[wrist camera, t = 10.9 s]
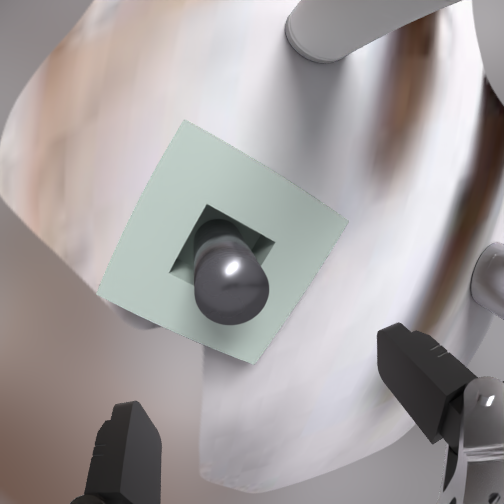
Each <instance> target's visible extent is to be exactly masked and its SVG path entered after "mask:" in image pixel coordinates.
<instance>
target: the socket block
mask: <svg viewBox="0 0 504 504" xmlns="http://www.w3.org/2000/svg"><path fill="white" fill-rule="evenodd" d="M212 219H224V220H227V221H229V222H231V223H233V224H234V225H235V226H236V227H237V228H238V230H239V232H240V233H241V235H242V236H243V238H244V240H245V241H246V243H247V245H248V246H249V248H250V249H251V251H252V253H253V254H254V256H255V258H256V259H257V261H258V263H259V264H260V266H261V267H262V269H263V271H264V272H265V274H266V276H267V279H268V282H269V296H268V300H267V302H266V304H265V306H264V308H263V309H262V311H261V312H260V313H259V314H258V315H257V316H255V317H254V318H253V319H251V320H249V321H247V322H245V323H242V324H238V325H222V324H218V323H215V322H213V321H211V320H210V319H208V318H207V317H206V316H204V315H203V314H202V312H201V311H200V310H199V308H198V306H197V304H196V301H195V295H194V250H193V242H194V236H195V233H196V231H197V230H198V228H199V227H200V226H201V225H202V224H204V223H205V222H207V221H209V220H212ZM348 223H349V221H348V220H347V219H345V218H344V217H342V216H341V215H340V214H338V213H337V212H335V211H334V210H332V209H331V208H329V207H328V206H326V205H325V204H323V203H322V202H321V201H319V200H318V199H316V198H315V197H313V196H312V195H310V194H308V193H307V192H305V191H304V190H302V189H301V188H299V187H298V186H296V185H295V184H293V183H292V182H290V181H288V180H287V179H285V178H284V177H282V176H281V175H279V174H277V173H276V172H274V171H273V170H271V169H269V168H268V167H266V166H265V165H263V164H261V163H260V162H258V161H256V160H255V159H253V158H251V157H250V156H248V155H246V154H245V153H243V152H241V151H240V150H238V149H236V148H235V147H233V146H231V145H230V144H228V143H226V142H224V141H223V140H221V139H219V138H217V137H216V136H214V135H212V134H210V133H209V132H207V131H205V130H203V129H202V128H200V127H198V126H196V125H194V124H193V123H191V122H189V121H187V120H185V119H184V121H183V122H182V124H181V126H180V127H179V129H178V131H177V132H176V134H175V136H174V137H173V139H172V141H171V142H170V144H169V146H168V147H167V149H166V151H165V153H164V154H163V156H162V158H161V160H160V162H159V163H158V165H157V167H156V169H155V171H154V172H153V174H152V176H151V178H150V180H149V182H148V183H147V185H146V187H145V189H144V191H143V193H142V195H141V197H140V199H139V201H138V203H137V205H136V207H135V209H134V211H133V213H132V215H131V217H130V219H129V221H128V223H127V225H126V227H125V229H124V231H123V233H122V236H121V238H120V240H119V242H118V244H117V246H116V249H115V251H114V253H113V255H112V258H111V260H110V262H109V265H108V267H107V269H106V272H105V274H104V276H103V279H102V281H101V284H100V286H99V288H98V291H97V293H96V294H97V295H99V296H100V297H102V298H104V299H106V300H108V301H110V302H112V303H114V304H116V305H118V306H120V307H122V308H124V309H126V310H128V311H130V312H132V313H134V314H136V315H138V316H140V317H142V318H144V319H147V320H149V321H151V322H153V323H155V324H157V325H159V326H162V327H164V328H166V329H168V330H171V331H173V332H175V333H177V334H179V335H182V336H184V337H186V338H188V339H191V340H193V341H196V342H198V343H200V344H203V345H205V346H207V347H210V348H212V349H215V350H217V351H220V352H222V353H225V354H227V355H230V356H232V357H235V358H237V359H240V360H243V361H245V362H248V363H251V364H253V365H255V363H256V362H257V361H258V359H259V358H260V356H261V355H262V354H263V352H264V351H265V349H266V348H267V347H268V345H269V344H270V342H271V341H272V339H273V338H274V337H275V335H276V334H277V332H278V331H279V329H280V328H281V326H282V325H283V324H284V322H285V321H286V319H287V318H288V316H289V315H290V313H291V312H292V310H293V309H294V307H295V306H296V304H297V303H298V301H299V300H300V298H301V297H302V295H303V294H304V292H305V291H306V289H307V288H308V286H309V285H310V283H311V282H312V280H313V279H314V277H315V275H316V274H317V272H318V271H319V269H320V268H321V266H322V264H323V263H324V261H325V260H326V258H327V257H328V255H329V253H330V252H331V250H332V249H333V247H334V245H335V244H336V242H337V241H338V239H339V237H340V236H341V234H342V232H343V231H344V229H345V227H346V226H347V224H348Z"/></svg>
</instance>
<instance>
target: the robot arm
mask: <svg viewBox="0 0 504 504" xmlns="http://www.w3.org/2000/svg"><path fill="white" fill-rule="evenodd" d="M471 293H472V297H473V299H474V301H475V302H477V303H478V304H480V305H481V306H483V307H484V308H486V309H488V310H489V311H491V312H492V313H494V314H495V315H497V316H499V317H500V318H502V319H503V320H504V244H502V243H498V242H496V243H493V244H491V245H490V246H488V247H487V248H486V249H485V251H484V252H483V253H482V255H481V257H480V258H479V260H478V262H477V265H476V267H475V270H474V273H473V277H472V284H471ZM377 365H378V371H379V374H380V376H381V378H382V380H383V382H384V383H385V384H386V386H387V387H388V388H389V389H390V391H391V392H392V393H393V394H394V396H395V397H396V398H397V400H398V401H399V402H400V403H401V405H402V406H403V407H404V408H405V410H406V411H407V412H408V414H409V415H410V416H411V417H412V419H413V420H414V421H415V423H416V424H417V425H418V426H419V428H420V429H421V430H422V432H423V433H424V434H425V435H426V437H427V438H428V439H429V441H430V442H431V443H432V444H434V443H436V442H437V441H439V440H441V439H442V438H444V440H445V441H446V442H447V446H446V452H445V461H444V469H443V475H442V482H441V489H440V494H439V498H438V501H437V504H504V381H503V382H502V381H500V380H499V379H497V378H494V377H489V376H484V377H479V378H478V377H476V376H475V375H474V374H473V373H472V372H471V371H470V370H469V369H468V368H466V367H465V366H464V365H463V364H462V363H461V362H460V361H459V360H457V359H456V358H455V357H454V356H453V355H452V354H451V353H448V352H447V350H446V349H445V348H444V347H442V346H440V345H439V343H438V342H437V341H436V340H434V339H433V338H432V337H431V336H430V335H427V334H424V333H422V332H419V331H414V332H412V333H411V332H410V331H409V330H408V329H407V328H406V327H405V326H404V325H402V324H401V323H396V324H393V325H391V326H389V327H386V328H384V329H382V330H379V331H378V333H377ZM161 452H162V443H161V438H160V435H159V433H158V430H157V429H156V427H155V426H154V424H153V423H152V421H151V420H150V418H149V417H148V415H147V414H146V412H145V411H144V409H143V407H142V406H141V404H140V403H139V402H137V401H132V402H126V403H120V404H116V405H115V406H114V408H113V412H112V416H111V420H107V421H105V423H104V424H103V425H102V427H101V428H100V430H99V431H98V433H97V437H96V441H95V447H94V450H93V457H92V459H91V463H90V468H89V472H88V478H87V482H86V488H85V492H84V495H82V496H79V497H77V498H75V499H74V500H73V501H72V502H71V503H70V504H160V491H161Z"/></svg>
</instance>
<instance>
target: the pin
mask: <svg viewBox="0 0 504 504" xmlns="http://www.w3.org/2000/svg"><path fill="white" fill-rule="evenodd" d="M193 250H194V295H195V301H196V304H197V306H198V308H199V310H200V311H201V312H202V314H203V315H204V316H206V317H207V318H208V319H210V320H211V321H213V322H215V323H218V324H222V325H238V324H242V323H245V322H247V321H249V320H251V319H253V318H254V317H255V316H257V315H258V314H259V313H260V312H261V311H262V309H263V308H264V306H265V304H266V302H267V300H268V296H269V282H268V279H267V276H266V274H265V272H264V271H263V269H262V267H261V266H260V264H259V263H258V261H257V259H256V258H255V256H254V254H253V253H252V251H251V249H250V248H249V246H248V245H247V243H246V241H245V240H244V238H243V236H242V235H241V233H240V232H239V230H238V228H237V227H236V226H235V225H234V224H233V223H231V222H229V221H227V220H224V219H212V220H209V221H207V222H205V223H204V224H202V225H201V226H200V227H199V228H198V230H197V231H196V233H195V236H194V242H193Z"/></svg>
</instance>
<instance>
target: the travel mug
mask: <svg viewBox="0 0 504 504" xmlns="http://www.w3.org/2000/svg"><path fill="white" fill-rule="evenodd" d="M459 1H462V0H301V1H300V2H299V3H298V5H297V6H296V7H295V9H294V10H293V11H292V12H291V14H290V15H289V16H288V18H287V21H286V25H285V30H286V35H287V38H288V41H289V42H290V44H291V46H292V47H293V48H294V49H295V50H296V51H297V52H298V53H299V54H300V55H302V56H303V57H305V58H306V59H309V60H311V61H314V62H317V63H332V62H335V61H338V60H340V59H341V58H343V57H345V56H347V55H348V54H350V53H352V52H354V51H356V50H357V49H359V48H361V47H363V46H365V45H367V44H368V43H370V42H372V41H374V40H376V39H378V38H380V37H382V36H384V35H386V34H388V33H390V32H392V31H394V30H396V29H398V28H400V27H402V26H404V25H406V24H408V23H410V22H413V21H415V20H417V19H419V18H421V17H424V16H426V15H428V14H430V13H433V12H435V11H437V10H440V9H442V8H444V7H447V6H449V5H452V4H454V3H457V2H459Z"/></svg>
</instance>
